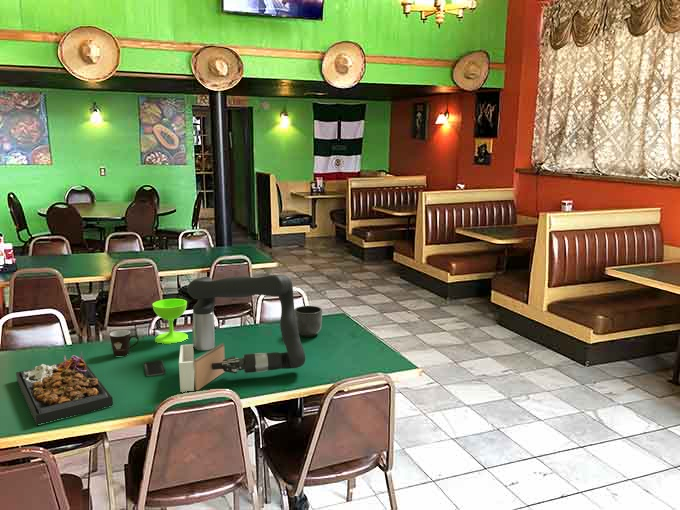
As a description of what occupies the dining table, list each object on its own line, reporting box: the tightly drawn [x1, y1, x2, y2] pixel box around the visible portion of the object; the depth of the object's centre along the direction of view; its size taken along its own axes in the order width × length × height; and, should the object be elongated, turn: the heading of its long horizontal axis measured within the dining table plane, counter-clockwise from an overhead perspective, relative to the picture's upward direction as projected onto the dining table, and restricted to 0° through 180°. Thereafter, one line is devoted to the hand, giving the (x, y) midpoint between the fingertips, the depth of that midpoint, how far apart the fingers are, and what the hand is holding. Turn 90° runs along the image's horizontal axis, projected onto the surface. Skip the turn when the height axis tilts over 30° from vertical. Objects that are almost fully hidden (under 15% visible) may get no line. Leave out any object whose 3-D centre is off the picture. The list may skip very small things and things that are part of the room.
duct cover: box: [194, 342, 226, 391], centre depth 222 cm, size 1×19×12 cm, turn 159°
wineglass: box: [151, 298, 189, 345], centre depth 270 cm, size 16×16×18 cm
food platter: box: [15, 350, 114, 425], centre depth 211 cm, size 45×25×10 cm, turn 37°
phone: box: [143, 359, 167, 377], centre depth 235 cm, size 8×1×15 cm
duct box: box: [178, 343, 195, 394], centre depth 221 cm, size 5×20×12 cm, turn 14°
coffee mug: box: [109, 329, 140, 357], centre depth 250 cm, size 12×9×10 cm
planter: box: [294, 305, 323, 338], centre depth 278 cm, size 14×14×13 cm
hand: (212, 366), depth 221 cm, fingers closed
